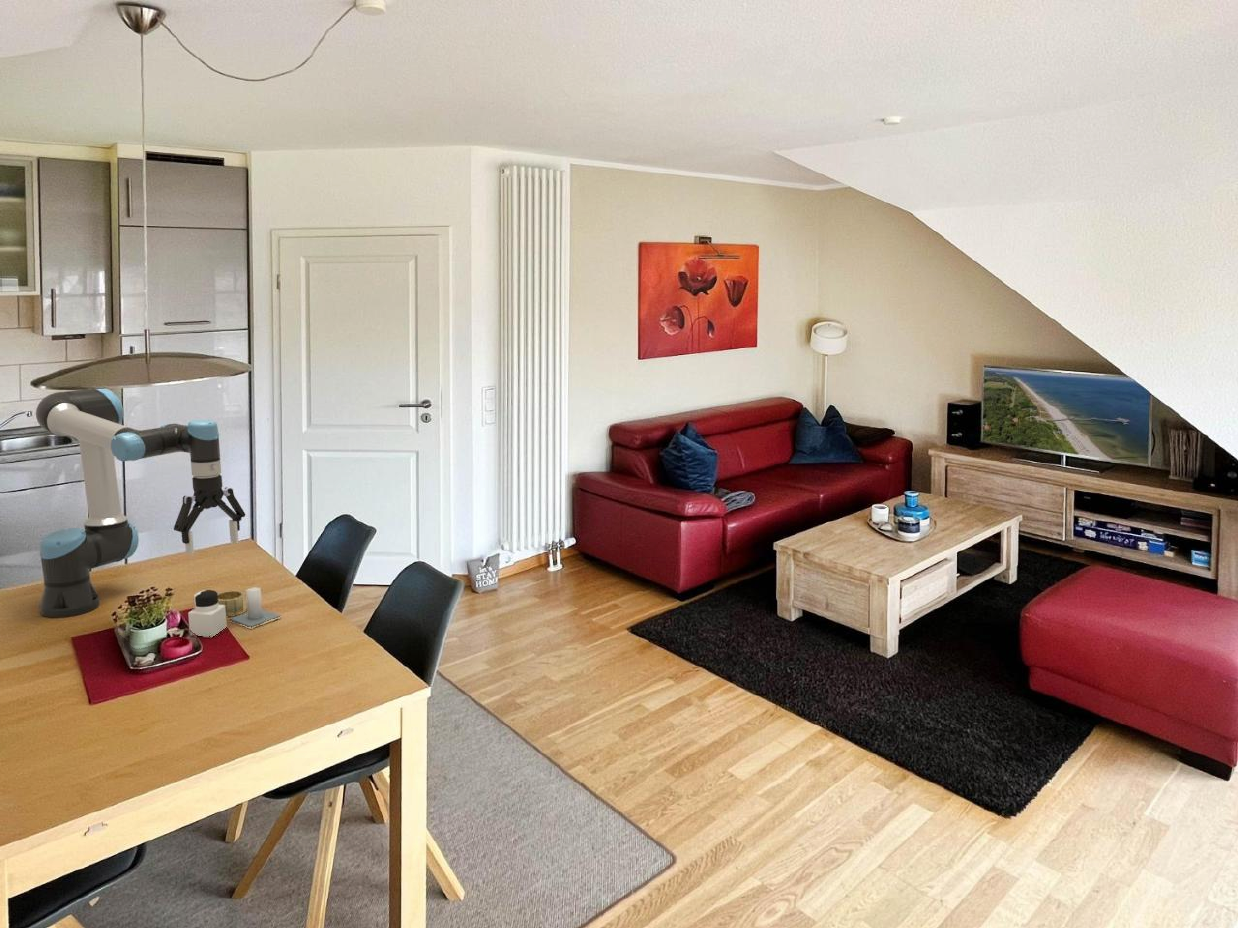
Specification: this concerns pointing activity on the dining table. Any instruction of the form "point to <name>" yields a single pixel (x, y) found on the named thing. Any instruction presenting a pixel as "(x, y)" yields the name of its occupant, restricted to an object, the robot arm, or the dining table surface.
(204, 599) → the medicine bottle
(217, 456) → the robot arm
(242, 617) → the post stand
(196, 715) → the dining table surface
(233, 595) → the ring
